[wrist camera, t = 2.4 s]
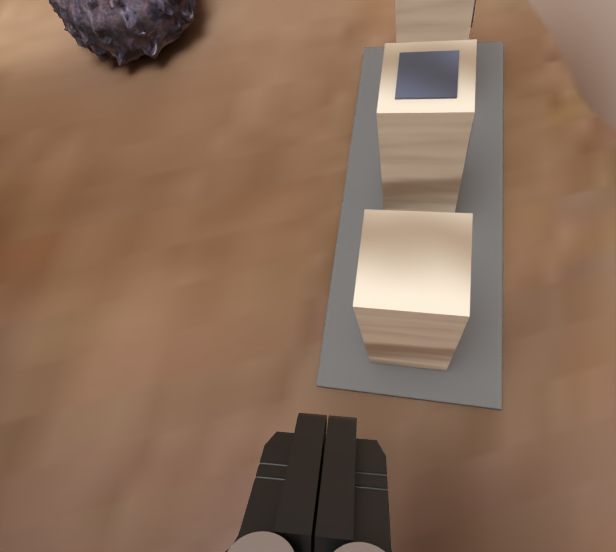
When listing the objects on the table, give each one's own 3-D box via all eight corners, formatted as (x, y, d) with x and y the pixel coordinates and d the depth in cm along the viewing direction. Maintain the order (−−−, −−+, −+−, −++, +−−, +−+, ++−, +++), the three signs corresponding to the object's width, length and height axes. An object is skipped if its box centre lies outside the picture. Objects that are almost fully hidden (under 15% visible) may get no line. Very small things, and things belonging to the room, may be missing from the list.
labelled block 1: (460, 107, 39) (483, -38, 28) (397, 107, 40) (394, -32, 29) (462, 61, 40) (484, -93, 29) (401, 63, 41) (401, -84, 30)
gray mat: (500, 410, 30) (501, 409, 29) (317, 386, 33) (316, 385, 32) (502, 46, 41) (503, 41, 40) (364, 52, 43) (364, 47, 43)
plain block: (446, 370, 31) (469, 316, 20) (370, 362, 32) (352, 306, 21) (449, 299, 32) (472, 213, 22) (377, 293, 34) (364, 209, 23)
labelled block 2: (454, 224, 35) (478, 110, 24) (384, 221, 36) (376, 111, 25) (457, 167, 36) (480, 36, 25) (390, 166, 38) (384, 41, 27)
